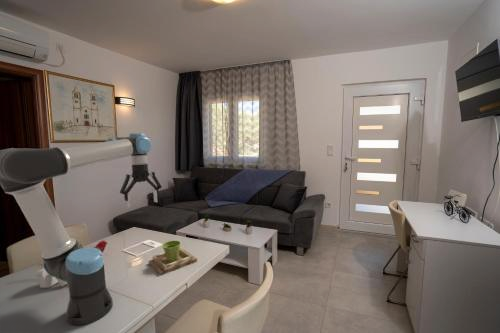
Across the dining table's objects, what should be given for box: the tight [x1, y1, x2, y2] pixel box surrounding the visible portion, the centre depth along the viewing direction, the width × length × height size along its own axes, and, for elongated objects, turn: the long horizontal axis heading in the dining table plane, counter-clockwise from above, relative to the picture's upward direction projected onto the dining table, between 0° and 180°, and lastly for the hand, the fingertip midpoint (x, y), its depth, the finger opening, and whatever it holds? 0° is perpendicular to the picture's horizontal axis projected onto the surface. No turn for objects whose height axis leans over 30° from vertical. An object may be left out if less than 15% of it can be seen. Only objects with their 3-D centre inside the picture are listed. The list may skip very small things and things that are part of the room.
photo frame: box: [122, 239, 164, 257], centre depth 154 cm, size 15×1×18 cm
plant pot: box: [161, 240, 182, 262], centre depth 134 cm, size 9×9×9 cm
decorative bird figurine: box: [92, 240, 109, 254], centre depth 138 cm, size 3×18×10 cm, turn 129°
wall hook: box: [35, 267, 68, 289], centre depth 115 cm, size 8×10×10 cm
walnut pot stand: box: [147, 247, 198, 276], centre depth 134 cm, size 20×16×4 cm
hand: (142, 204), depth 132 cm, fingers open, 13 cm apart
